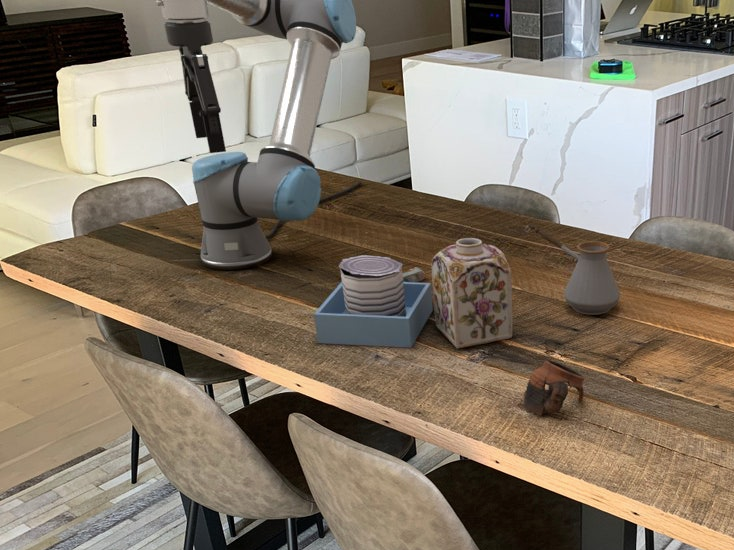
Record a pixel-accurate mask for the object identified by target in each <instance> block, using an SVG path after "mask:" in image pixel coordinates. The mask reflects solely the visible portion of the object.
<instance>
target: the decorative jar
mask: <svg viewBox="0 0 734 550" xmlns="http://www.w3.org/2000/svg"><path fill="white" fill-rule="evenodd" d="M430 264H431V281H432V283H431V285H432V300H433V308H434V322H435V326H436V328H437V329H438V330H439V331H440V332H441V334H443V335H444V337H445V338H446V339H448V341H449V342H450V343H451V344H452V345H453V346H454V347H455V348H456V349H457V350H458V349H459V350H460V349H463V348H469V347H474V346H480V345H484V344H489V343H494V342H498V341H503V340H509V339H512V337H513V326H514V325H513V322H514V321H513V319H514V318H513V317H514V316H513V286H512V285H513V283H512V282H513V281H512V269H511V267H510V264H509V262H508V261H507V259H506V255H505V253H504V252H503V251H501V250H500V248H498V247H496V246H495V245H492V244H487V243H483V241H482V240H481V239H480V238H475V237H466V238H460V239H458V240H456V242H455V244H450V245H448V246H446V247H445V248H442V249H441V250H439V251H438V252H437V253H436V254H435V255H434V256H433V257H432V259H431V262H430Z"/></svg>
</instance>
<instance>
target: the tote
mask: <svg viewBox="0 0 734 550" xmlns="http://www.w3.org/2000/svg"><path fill="white" fill-rule="evenodd" d="M403 286H404V297H405V308H406V317H400V316H378V315H357V314H346V309H345V301H344V293H343V286H342V281H341V282H340V283H339V284H338V285H337V286H336V287H335V288H334V290H333V291H332V292H331V293H330V295H329V296H328V297H327V298H326V299H325V301H324V302H323V303H322V304H321V305H320V306H319V307H318V309H317V310H316V311H315V312H314V313H313V319H314V326H315V333H316V340H317V344H327V345H348V346H349V345H351V346H368V347H369V346H371V347H387V348H390V347H391V348H408V349H409V348H410V349H411V348H412V347H413V345H414V344H415V342H416V341H417V339H418V337H419V335H420V333H421V332H422V330H423V328H424V327H425V325H426V323H427V322H428V319H429V318H430V316H431V315H432V312H433V308H434V306H433V293H432V283H431V282H415V283H414V282H403Z"/></svg>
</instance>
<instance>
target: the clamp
mask: <svg viewBox="0 0 734 550" xmlns="http://www.w3.org/2000/svg"><path fill="white" fill-rule="evenodd" d="M408 270H409V271H407V272H402V275H403V282H414V283H419V282H421V281H424V279H425V271H424V270H423V269H421V268H420V267H416V266H415V267H414V268H409V269H408Z"/></svg>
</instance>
